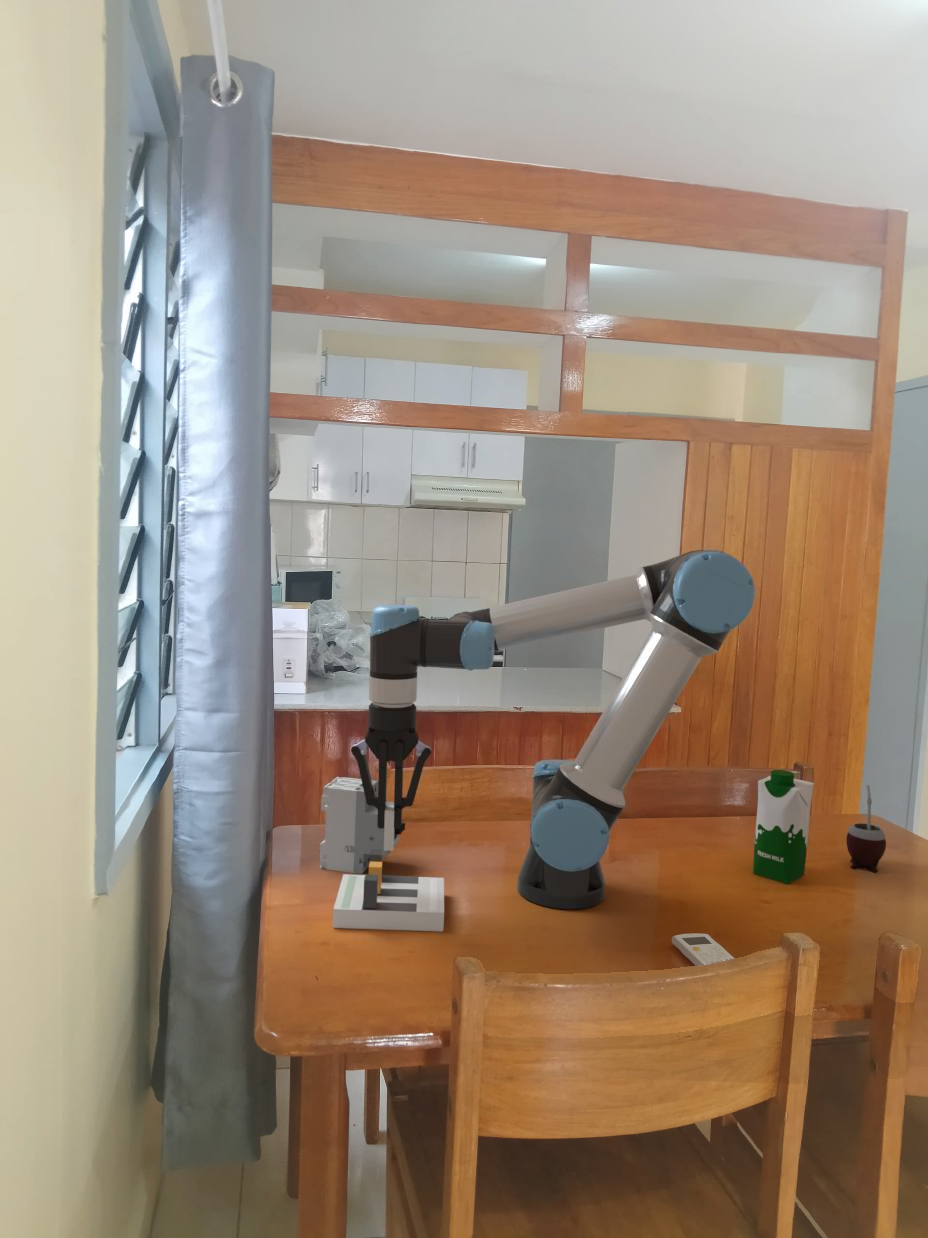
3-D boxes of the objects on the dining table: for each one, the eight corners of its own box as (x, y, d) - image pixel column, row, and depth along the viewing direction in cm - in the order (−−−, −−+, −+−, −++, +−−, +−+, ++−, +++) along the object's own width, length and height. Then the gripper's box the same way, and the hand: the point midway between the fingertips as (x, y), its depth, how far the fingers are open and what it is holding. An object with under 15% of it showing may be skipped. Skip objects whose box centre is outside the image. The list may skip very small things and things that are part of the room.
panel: (443, 895, 151) (443, 877, 151) (443, 931, 137) (444, 912, 137) (342, 891, 151) (343, 874, 150) (332, 928, 137) (333, 908, 137)
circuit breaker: (395, 878, 158) (398, 795, 156) (319, 868, 160) (321, 787, 159) (406, 863, 165) (410, 784, 164) (333, 854, 168) (336, 776, 166)
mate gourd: (864, 875, 170) (871, 798, 168) (833, 861, 177) (839, 787, 176) (893, 871, 172) (900, 796, 171) (861, 857, 180) (868, 784, 178)
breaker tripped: (381, 888, 145) (382, 862, 144) (380, 894, 142) (381, 867, 142) (369, 887, 145) (370, 861, 144) (367, 893, 142) (368, 867, 142)
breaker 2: (377, 902, 139) (378, 874, 139) (376, 908, 137) (377, 880, 137) (364, 901, 139) (365, 874, 139) (363, 908, 137) (364, 880, 137)
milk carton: (746, 873, 168) (754, 769, 166) (766, 862, 174) (775, 762, 173) (791, 887, 162) (800, 780, 160) (811, 875, 168) (820, 772, 167)
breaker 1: (381, 875, 150) (382, 850, 150) (380, 880, 148) (381, 855, 148) (369, 874, 150) (370, 849, 150) (368, 880, 148) (369, 854, 147)
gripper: (434, 699, 145) (429, 840, 147) (353, 697, 144) (350, 838, 147) (433, 708, 137) (429, 857, 139) (349, 706, 137) (345, 855, 139)
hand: (388, 847), depth 143 cm, fingers closed
